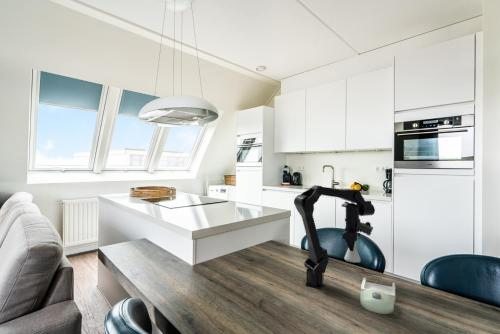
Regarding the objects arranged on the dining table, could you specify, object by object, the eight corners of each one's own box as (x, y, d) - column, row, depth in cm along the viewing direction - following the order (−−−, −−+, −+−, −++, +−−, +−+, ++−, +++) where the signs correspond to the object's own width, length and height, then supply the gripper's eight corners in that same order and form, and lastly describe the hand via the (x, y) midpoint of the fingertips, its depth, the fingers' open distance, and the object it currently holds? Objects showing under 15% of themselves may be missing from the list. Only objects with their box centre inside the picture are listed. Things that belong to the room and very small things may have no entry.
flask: (362, 263, 113) (362, 241, 113) (345, 262, 114) (345, 240, 114) (358, 257, 120) (358, 236, 120) (342, 256, 121) (342, 235, 121)
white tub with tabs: (357, 308, 92) (357, 297, 92) (363, 282, 113) (363, 273, 113) (395, 317, 87) (395, 305, 87) (395, 288, 107) (394, 279, 107)
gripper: (370, 222, 105) (370, 260, 105) (373, 214, 121) (373, 247, 121) (341, 219, 110) (341, 255, 110) (348, 212, 127) (348, 244, 127)
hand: (352, 250), depth 117 cm, fingers closed on flask, 3 cm apart
